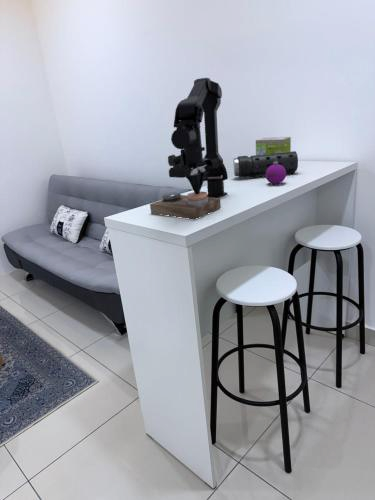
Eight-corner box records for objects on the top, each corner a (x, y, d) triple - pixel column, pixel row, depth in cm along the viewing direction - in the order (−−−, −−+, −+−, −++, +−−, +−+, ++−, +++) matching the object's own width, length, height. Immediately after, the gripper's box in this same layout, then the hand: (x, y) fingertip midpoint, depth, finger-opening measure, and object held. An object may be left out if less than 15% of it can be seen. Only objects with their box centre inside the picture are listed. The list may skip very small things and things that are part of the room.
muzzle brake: (298, 175, 160) (298, 151, 156) (236, 181, 162) (234, 158, 158) (292, 171, 169) (292, 149, 165) (233, 177, 171) (232, 155, 167)
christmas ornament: (261, 185, 148) (261, 161, 144) (273, 181, 153) (273, 157, 149) (278, 186, 142) (278, 161, 139) (290, 182, 147) (290, 158, 143)
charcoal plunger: (172, 205, 131) (170, 191, 129) (185, 207, 127) (183, 193, 125) (160, 210, 126) (158, 196, 124) (173, 212, 122) (171, 197, 120)
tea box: (255, 169, 185) (254, 139, 179) (264, 165, 192) (263, 137, 187) (283, 169, 176) (283, 138, 171) (291, 165, 183) (291, 136, 178)
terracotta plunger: (197, 205, 123) (195, 191, 121) (212, 207, 119) (210, 192, 117) (185, 210, 118) (183, 195, 116) (200, 212, 114) (198, 196, 112)
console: (177, 203, 134) (176, 194, 133) (220, 208, 121) (220, 198, 120) (151, 213, 124) (149, 203, 123) (194, 220, 112) (193, 209, 110)
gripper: (192, 141, 122) (196, 186, 128) (153, 149, 110) (160, 199, 115) (218, 140, 115) (221, 188, 121) (179, 149, 103) (185, 201, 108)
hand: (197, 194), depth 117 cm, fingers closed, pressing on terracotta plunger
